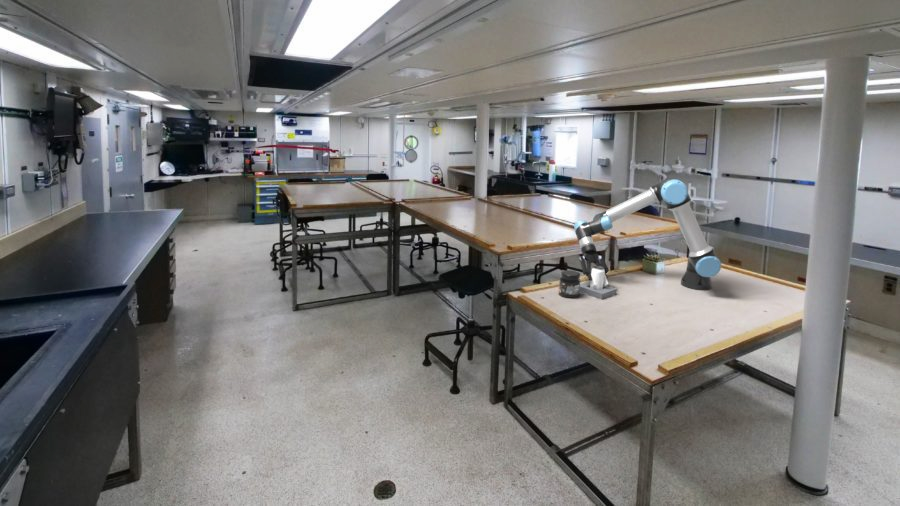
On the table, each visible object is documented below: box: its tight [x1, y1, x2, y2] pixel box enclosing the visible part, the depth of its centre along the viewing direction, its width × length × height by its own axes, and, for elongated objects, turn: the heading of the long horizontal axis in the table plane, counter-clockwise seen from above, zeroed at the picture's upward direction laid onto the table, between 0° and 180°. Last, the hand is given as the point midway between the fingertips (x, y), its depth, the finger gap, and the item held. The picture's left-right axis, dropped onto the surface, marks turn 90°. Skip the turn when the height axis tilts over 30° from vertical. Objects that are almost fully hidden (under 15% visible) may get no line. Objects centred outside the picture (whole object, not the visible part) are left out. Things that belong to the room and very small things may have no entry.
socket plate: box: [579, 281, 618, 300], centre depth 245 cm, size 16×13×4 cm
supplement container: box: [558, 269, 581, 299], centre depth 239 cm, size 10×10×12 cm
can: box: [590, 265, 605, 290], centre depth 243 cm, size 6×6×12 cm
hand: (600, 285), depth 240 cm, fingers closed on can, 6 cm apart
